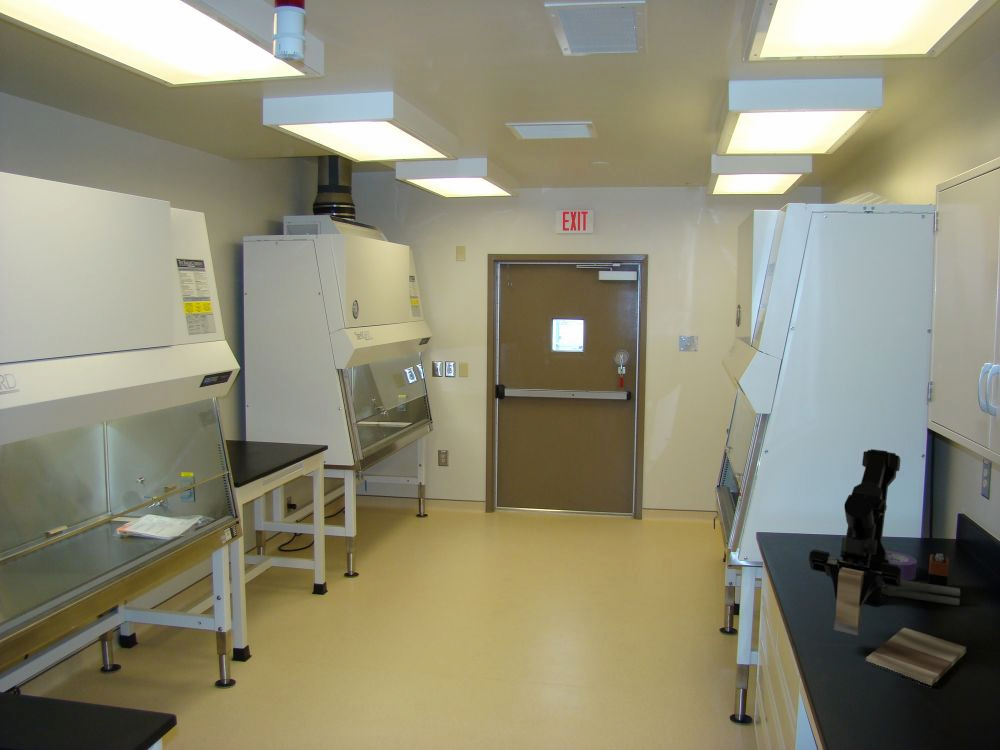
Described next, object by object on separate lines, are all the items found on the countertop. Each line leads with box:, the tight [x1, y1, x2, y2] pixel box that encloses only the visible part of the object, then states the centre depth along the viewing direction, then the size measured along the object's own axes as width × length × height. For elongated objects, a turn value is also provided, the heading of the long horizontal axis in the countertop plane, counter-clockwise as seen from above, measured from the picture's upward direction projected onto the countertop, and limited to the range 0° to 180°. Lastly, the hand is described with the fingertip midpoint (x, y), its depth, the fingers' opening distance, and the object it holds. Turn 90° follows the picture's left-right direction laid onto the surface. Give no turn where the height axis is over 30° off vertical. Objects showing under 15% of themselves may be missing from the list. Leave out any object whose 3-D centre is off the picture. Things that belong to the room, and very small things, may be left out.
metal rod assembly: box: [881, 580, 961, 607], centre depth 199 cm, size 26×3×5 cm, turn 67°
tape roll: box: [886, 550, 918, 581], centre depth 216 cm, size 12×12×5 cm
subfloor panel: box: [865, 627, 967, 686], centre depth 166 cm, size 22×13×2 cm, turn 133°
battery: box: [927, 552, 950, 596], centre depth 203 cm, size 4×7×10 cm, turn 149°
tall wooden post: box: [833, 567, 864, 636], centre depth 168 cm, size 5×5×13 cm
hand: (848, 602), depth 167 cm, fingers closed on tall wooden post, 4 cm apart
